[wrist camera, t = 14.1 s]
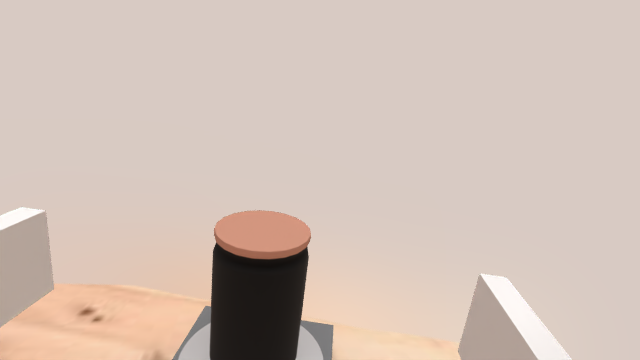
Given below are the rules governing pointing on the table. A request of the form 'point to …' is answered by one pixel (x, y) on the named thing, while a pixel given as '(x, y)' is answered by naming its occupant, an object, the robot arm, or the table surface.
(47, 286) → the robot arm
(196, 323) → the kitchen scale
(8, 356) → the table surface
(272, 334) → the coffee jar
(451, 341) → the table surface
